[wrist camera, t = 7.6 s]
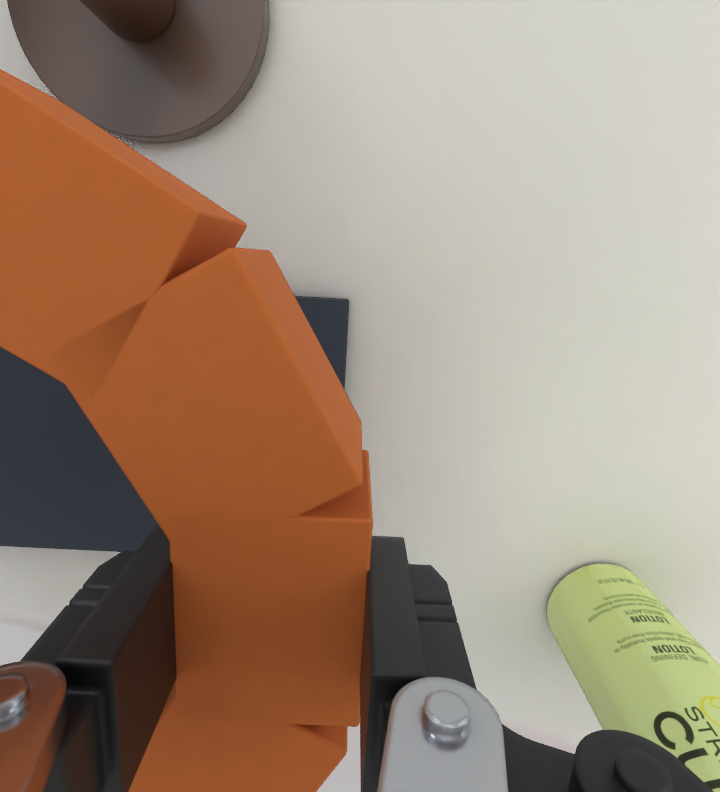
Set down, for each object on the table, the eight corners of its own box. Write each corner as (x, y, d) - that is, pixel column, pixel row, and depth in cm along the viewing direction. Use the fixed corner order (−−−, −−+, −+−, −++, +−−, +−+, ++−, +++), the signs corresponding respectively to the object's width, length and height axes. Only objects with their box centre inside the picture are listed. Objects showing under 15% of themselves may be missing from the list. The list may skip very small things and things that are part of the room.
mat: (-8, 538, 25) (-17, 545, 24) (-41, 275, 22) (-52, 275, 21) (335, 555, 25) (334, 562, 25) (349, 299, 22) (349, 300, 22)
